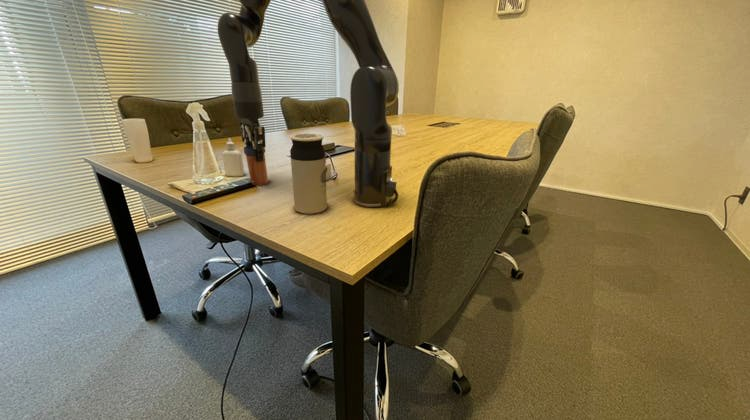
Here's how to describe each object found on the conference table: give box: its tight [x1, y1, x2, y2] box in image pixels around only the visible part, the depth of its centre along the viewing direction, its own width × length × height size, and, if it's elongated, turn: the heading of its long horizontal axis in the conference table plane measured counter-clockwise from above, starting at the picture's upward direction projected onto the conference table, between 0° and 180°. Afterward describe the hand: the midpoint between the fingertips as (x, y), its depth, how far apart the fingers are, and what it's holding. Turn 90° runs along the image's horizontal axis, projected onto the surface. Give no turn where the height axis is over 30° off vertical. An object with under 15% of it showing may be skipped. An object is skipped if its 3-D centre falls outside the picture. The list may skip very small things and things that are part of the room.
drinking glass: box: [121, 118, 154, 164], centre depth 110 cm, size 7×7×15 cm
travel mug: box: [289, 133, 328, 215], centre depth 73 cm, size 8×8×18 cm
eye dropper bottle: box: [221, 137, 245, 178], centre depth 98 cm, size 4×6×12 cm
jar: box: [245, 153, 269, 186], centre depth 92 cm, size 5×5×10 cm
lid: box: [243, 145, 266, 156], centre depth 89 cm, size 6×6×2 cm
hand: (255, 159), depth 90 cm, fingers closed on lid, 5 cm apart
